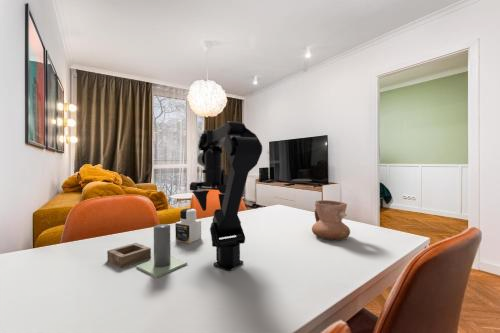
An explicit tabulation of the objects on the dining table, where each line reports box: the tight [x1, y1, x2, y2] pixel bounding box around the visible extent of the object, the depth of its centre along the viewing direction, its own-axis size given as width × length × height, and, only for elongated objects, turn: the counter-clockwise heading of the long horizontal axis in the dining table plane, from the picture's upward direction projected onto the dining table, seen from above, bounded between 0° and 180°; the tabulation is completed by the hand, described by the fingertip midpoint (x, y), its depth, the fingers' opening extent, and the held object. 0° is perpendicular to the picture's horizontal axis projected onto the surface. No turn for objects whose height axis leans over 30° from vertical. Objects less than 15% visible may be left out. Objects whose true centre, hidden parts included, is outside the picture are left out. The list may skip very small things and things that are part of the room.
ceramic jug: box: [311, 199, 351, 241], centre depth 93 cm, size 18×14×14 cm
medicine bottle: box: [174, 207, 202, 244], centre depth 91 cm, size 7×7×12 cm
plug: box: [153, 223, 172, 268], centre depth 67 cm, size 4×4×11 cm
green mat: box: [135, 255, 188, 279], centre depth 67 cm, size 10×10×1 cm
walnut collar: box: [106, 242, 152, 269], centre depth 73 cm, size 9×9×3 cm
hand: (213, 212), depth 80 cm, fingers open, 9 cm apart
